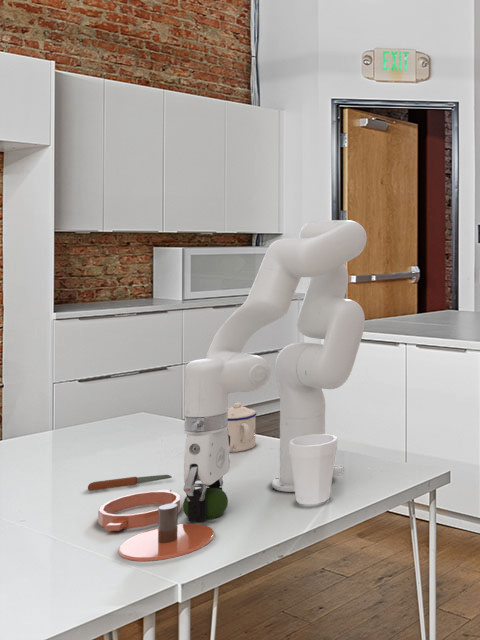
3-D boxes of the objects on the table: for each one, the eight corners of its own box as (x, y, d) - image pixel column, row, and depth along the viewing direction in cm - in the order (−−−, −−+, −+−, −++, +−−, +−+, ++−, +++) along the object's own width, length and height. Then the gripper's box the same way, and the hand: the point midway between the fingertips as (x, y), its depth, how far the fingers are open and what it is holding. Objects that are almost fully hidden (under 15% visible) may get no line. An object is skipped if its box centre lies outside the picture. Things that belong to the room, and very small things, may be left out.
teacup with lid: (212, 447, 193) (212, 403, 192) (248, 440, 199) (249, 397, 199) (228, 457, 184) (229, 411, 184) (266, 450, 191) (266, 405, 190)
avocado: (233, 512, 148) (233, 483, 148) (219, 524, 142) (220, 493, 142) (191, 513, 147) (191, 483, 147) (176, 525, 141) (176, 494, 141)
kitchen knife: (87, 493, 158) (87, 483, 158) (88, 491, 159) (88, 482, 159) (171, 482, 166) (171, 473, 166) (172, 480, 167) (172, 471, 167)
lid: (227, 529, 139) (227, 491, 139) (190, 563, 125) (190, 521, 125) (147, 531, 138) (147, 493, 138) (100, 565, 124) (100, 523, 124)
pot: (199, 499, 155) (199, 485, 155) (150, 536, 136) (151, 520, 136) (131, 501, 154) (131, 487, 154) (73, 538, 135) (73, 522, 135)
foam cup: (322, 490, 161) (322, 431, 161) (345, 500, 155) (346, 439, 155) (280, 502, 153) (280, 440, 153) (303, 513, 147) (303, 449, 147)
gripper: (205, 434, 136) (205, 531, 136) (243, 412, 153) (243, 498, 153) (163, 434, 136) (162, 531, 136) (206, 412, 153) (205, 498, 153)
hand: (205, 513), depth 144 cm, fingers closed on avocado, 6 cm apart
